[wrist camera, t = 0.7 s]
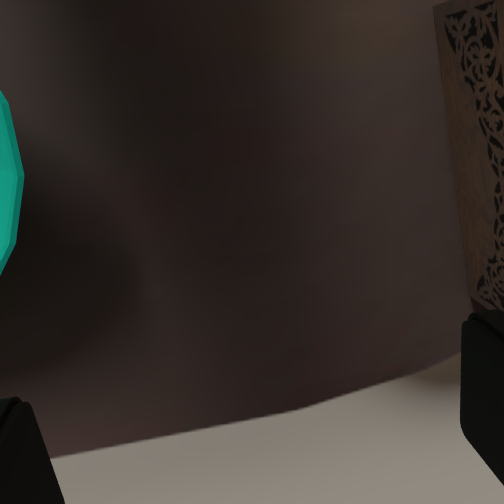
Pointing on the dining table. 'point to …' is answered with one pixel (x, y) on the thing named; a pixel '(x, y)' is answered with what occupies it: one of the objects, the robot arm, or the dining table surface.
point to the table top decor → (9, 183)
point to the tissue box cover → (476, 134)
